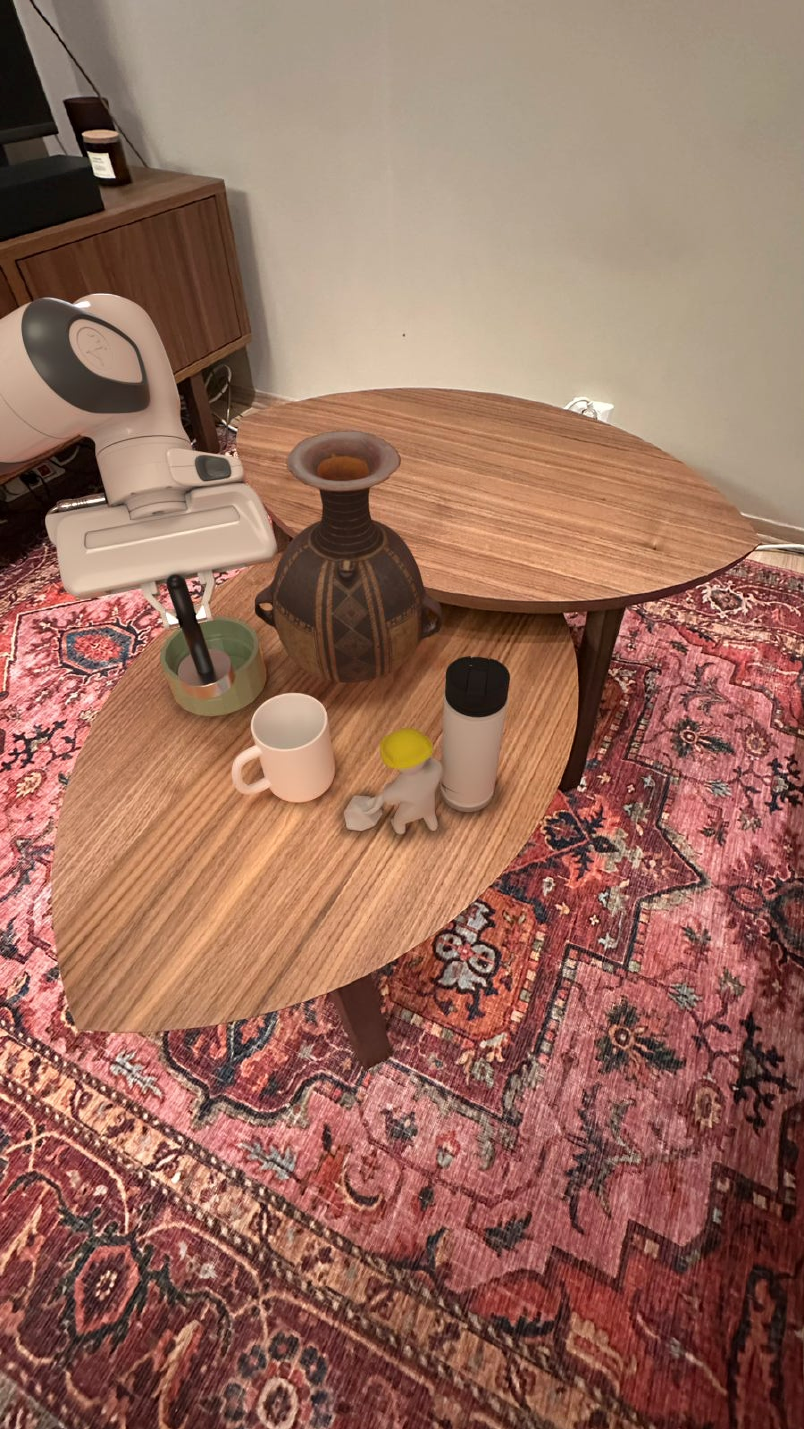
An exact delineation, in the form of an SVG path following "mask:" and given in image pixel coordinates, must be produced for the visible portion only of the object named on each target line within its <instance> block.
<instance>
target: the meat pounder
mask: <svg viewBox="0 0 804 1429" xmlns="http://www.w3.org/2000/svg"><path fill="white" fill-rule="evenodd" d="M165 586H166V589H167V592H168V595H169V598H170V600H171V603H172V605H173V609H175V612H176V614H177V617H178V620H179V623H180V625H181V628H182V631H183V634H184V637H185V640H186V642H187V645H188V648H189V651H190V655H188V656H187V657H186V658H185V659H184V660H183V661H182V662H181V663H180V665H179V668H178V676H179V679H180V681H181V684H182V686H183V689H184V691H185V692H186V693H187V694H188V695H190V696H191V697H194V698H197V699H211V698H215V697H218V696H220V695H222V694H224V693H225V692H226V691H228V690H229V689H230V688H231V686H232V685H233V683H234V680H235V673H234V669H233V666H232V663H231V660H230V658H229V656H228V655H227V654H226V653H224V652H222V651H220V650H216V649H208V648H207V645H206V642H205V639H204V636H203V633H202V629H201V626H200V624H199V623H198V622H197V618H196V615H197V613H196V612H195V611H194V605H195V604H194V602H193V599H192V596H191V593H190V590H189V587H188V584H187V581H186V579H184V577H183V576H181V575H179V574H172V575H170V576H169V577H168V578H167V580H166V583H165Z"/></svg>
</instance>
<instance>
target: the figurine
mask: <svg viewBox="0 0 804 1429" xmlns="http://www.w3.org/2000/svg"><path fill="white" fill-rule="evenodd" d="M379 751H380V757H381V761H382V763H383V764H384V765H385V766H387V767H388V768H390V769H394V770H397V771H399V774H398V775H397V776H396V777H395V778H394V779H393V780H392V781H391V782H388V783H387V784H385V786H384V788H383V789H382V791H381V793H380V794H379V795H376V796H373V797H371V796H369V795H367V796H366V795H353V796H352V798H351V800H350V801H349V803H348V805H347V806H346V808H345V809H344V811H343V817H344V821H345V827H346V828H347V830H349V831H358V832H363V831H366V830H368V829H371V828H373V827H375V826H376V825H377V823H378V822H379V820H380V819H381V818H382V816H383V814H384V812H383V810H382V806H383V805H384V804H387V805H388V806H395V805H397V804H399V805H398V807H397V809H396V811H395V813H394V816H393V817H392V818H391V819H390V823H391V825H392V827H393V830H394V831H395V833H396V834H398V835H404V834H405V832H406V828H407V827H406V825H407V824H408V823H412V822H415V821H417V820H421V819H423V821H424V822H425V824H426V826H427V827H428V829H429V830H430V831H431V832H436V831H437V829H438V826H439V823H438V822H439V821H438V819H437V815H436V794H435V792H436V789H437V787H438V786H439V785H440V780H441V777H442V774H443V767H442V765H441V761H439V760H437V759H436V758H431V757H432V754H433V752H434V743H433V741H432V740H431V739H430V737H428V736H427V735H426V734H423V733H422V732H421V731H420V730H418V729H416V728H412V727H404V728H400V729H397V730H395V731H394V732H391V733H389V734H387V735H385V736H384V737H383V738H382V739H381V741H380V744H379Z"/></svg>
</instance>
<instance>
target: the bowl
mask: <svg viewBox="0 0 804 1429" xmlns="http://www.w3.org/2000/svg"><path fill="white" fill-rule="evenodd" d="M200 626H201V629H202V633H203V636H204V639H205V642H206V645H207V648H208V649H216V650H220V651H222V652H224V653H226V654H227V655H228V656H229V658H230V660H231V663H232V666H233V669H234V673H235V680H234V683H233V685H232V686H231V688H230V689H229V690H228V691H226V692H225V693H224V694H222V695H220V696H218V697H215V698H211V699H197V698H194V697H191V696H190V695H188V694H187V693H186V692H185V691H184V689H183V686H182V684H181V681H180V679H179V676H178V668H179V665H180V663H181V662H182V661H183V660H184V659H185V658H186V657H187V656H188V655H190V651H189V648H188V645H187V642H186V640H185V637H184V634H183V631H182V628H178V629H175V630H174V632H172V634H170V635H169V636H168V637H167V638H166V639H165V641H164V643H163V645H162V646H161V647H160V648H161V649H160V655H159V663H160V665H161V668H162V670H163V673H164V676H165V678H166V681H167V683H168V686H169V688H170V690H171V693H172V695H173V698H174V701H175V702H176V704H178V705H179V706H180V707H181V708H182V709H183V710H185V711H187V712H189V713H191V714H194V715H197V716H203V717H204V716H205V717H218V716H225V715H230V714H232V713H234V712H237V711H240V710H243V709H244V708H245V707H247V706H248V705H250V704H251V703H253V702H254V701H255V700H256V699H257V698H258V696H259V695H260V694H261V693H262V692H263V691H264V688H265V685H266V682H267V680H268V679H267V678H268V677H267V676H268V675H267V666H266V663H265V659H264V654H263V651H262V647H261V643H260V642H261V641H260V638H259V636H258V634H257V632H256V630H255V629H254V628H253V627H252V626H251V625H249V624H248V623H246V622H245V621H244V620H240V619H237V618H234V617H231V616H230V617H229V616H213V621H211V622H206V623H201V624H200Z"/></svg>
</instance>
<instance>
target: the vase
mask: <svg viewBox="0 0 804 1429" xmlns="http://www.w3.org/2000/svg"><path fill="white" fill-rule="evenodd" d="M401 462H402V458H401V455H400V453H399V451H398V450H397V449H396V448H395V446H394V445H392V444H391V443H390V442H388V441H387V440H385V438H381V437H377V436H376V435H374V434H371V433H369V432H365V431H360V430H353V429H349V430H346V429H345V430H341V431H340V430H337V431H334V430H331V431H326V432H322V433H319V434H316V435H313V436H310V437H306V438H304V439H302V440H301V441H299V442H298V443H297V444H296V446H294V447H293V449H291V451H290V452H289V453H288V454H287V457H286V459H285V464H286V469H287V470H288V471H289V472H290V473H291V474H292V475H293V476H294V477H295V479H297V480H298V481H300V482H301V483H302V484H303V485H305V486H309V487H313V488H315V489H318V490H319V495H320V500H321V504H322V508H321V509H322V510H321V519H320V520H318V521H316V522H314V523H312V524H310V525H309V526H307V527H305V528H304V529H303V530H301V531H300V532H299V533H297V535H296V536H295V537H294V538H293V539H291V541H290V542H289V544H288V545H287V546H286V548H285V550H284V552H283V554H282V555H281V558H280V559H279V561H278V564H277V567H276V569H275V573H274V576H273V580H272V581H271V583H270V584H269V585H268V586H266V587H264V588H263V589H262V590H261V591H260V592H259V593H257V594H256V596H255V598H254V614H255V616H257V617H258V618H259V619H261V620H262V621H263V622H264V623H266V625H268V626H270V627H273V628H274V629H275V631H276V633H277V636H278V638H279V641H280V643H281V645H282V647H283V648H284V650H285V652H286V653H287V655H288V656H289V658H290V659H291V660H292V661H293V662H294V664H295V665H297V666H298V667H299V668H301V670H303V671H304V672H306V673H308V674H310V675H311V676H313V677H317V678H320V679H323V680H326V681H331V682H337V683H342V684H356V683H362V682H367V681H373V680H377V679H379V678H382V677H384V676H387V675H389V674H392V672H394V671H396V670H398V668H400V667H401V666H402V665H404V664H406V662H408V660H409V659H411V656H413V654H414V653H415V652H416V650H417V648H418V646H419V644H420V642H421V641H422V640H424V639H426V638H431V637H432V636H434V635H435V634H436V633H439V632H440V630H441V628H442V626H443V611H442V606H441V604H440V602H439V601H438V600H437V599H434V598H433V597H431V596H430V594H428V592H427V591H426V589H425V585H424V582H423V578H422V574H421V570H420V568H419V565H418V563H417V561H416V558H415V556H414V555H413V553H412V551H411V549H410V547H409V546H408V545H407V543H406V541H405V540H404V539H403V537H401V536H400V535H399V534H398V533H397V532H396V531H395V530H394V529H393V528H391V527H389V526H388V525H386V524H385V523H382V522H380V521H377V520H375V519H372V516H371V511H370V497H369V496H370V490H371V488H372V487H375V486H377V485H381V484H383V483H384V482H386V481H387V480H389V478H390V477H391V475H392V474H394V473H395V472H396V471H398V469H399V468H400V466H401ZM262 604H269V605H270V606H271V607H272V608H271V609H267V610H266V609H264V608H262V606H261V605H262ZM428 611H430V612H431V613H433V614H435V616H436V617H437V619H436V620H435V621H434V622H431V621H430V620H429V619H428V616H427V612H428Z"/></svg>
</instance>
